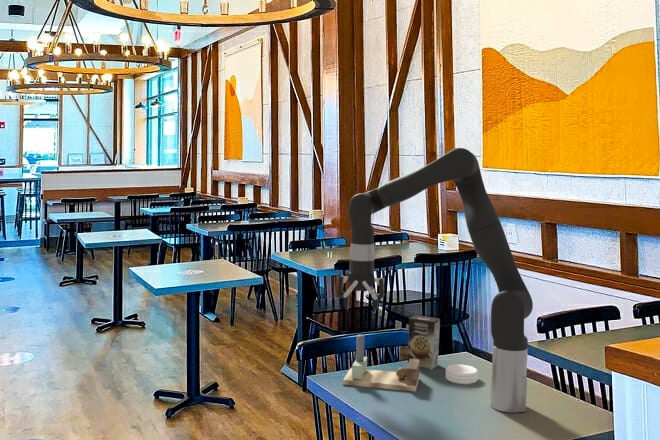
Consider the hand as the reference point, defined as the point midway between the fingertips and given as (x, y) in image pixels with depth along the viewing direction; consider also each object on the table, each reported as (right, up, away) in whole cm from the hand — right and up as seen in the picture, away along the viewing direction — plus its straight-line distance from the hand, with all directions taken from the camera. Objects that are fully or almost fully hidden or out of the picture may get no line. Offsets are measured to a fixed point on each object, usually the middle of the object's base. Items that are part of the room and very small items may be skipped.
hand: (360, 310), depth 192 cm
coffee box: (+22, -21, +19) cm, 36 cm away
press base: (+7, -22, +1) cm, 23 cm away
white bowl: (+32, -23, +5) cm, 40 cm away
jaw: (0, -20, +2) cm, 20 cm away
